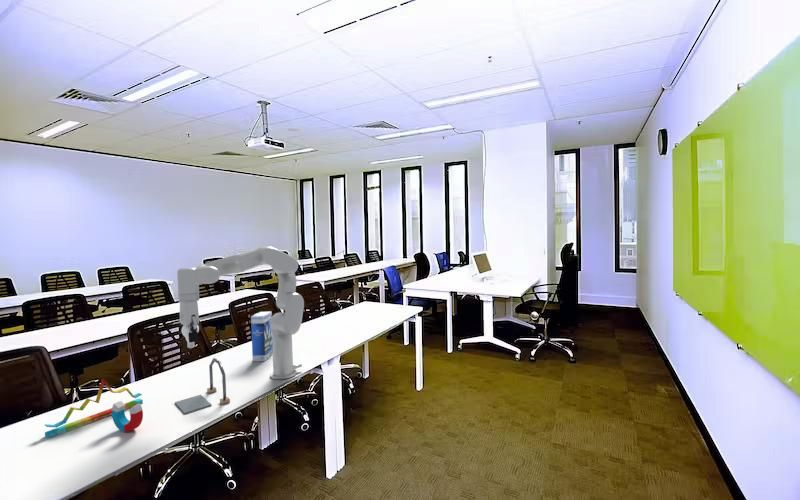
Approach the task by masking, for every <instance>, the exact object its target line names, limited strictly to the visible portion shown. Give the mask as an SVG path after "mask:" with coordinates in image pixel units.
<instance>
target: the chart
mask: <svg viewBox="0 0 800 500" xmlns="http://www.w3.org/2000/svg"><path fill="white" fill-rule="evenodd" d="M104 386H106V387H107V389H108V391H109V392H110V393H113V394H121V393H123V392H127V393H128V394H129V395H130V397H131V398H134V399H133V400H131V401H128V402H125V403H124V404H125V408H124V411H127V410H129V409H131V408H132V407H133V406H135V405H138V404H141V405H143V404H144V403H143V402H144V401H143V399H142V398H140V397H141V396H142V395H143V394H142V393H140V392H138V393H136V394H133V393H132V392H131V391H130V390H129V388H127V387H122V388H119V389H118V390H113V389H112V387H111V386H110V385H109V383H108V382H107V381H106V379H104V378H101V382H100V384H99V387H98V391H97V395H96V399H95V400H93V399H90V398H86V399H85V401H84V402H83V403H82V404H81V406H80V407H74V406H73V407H71V406H70V407H69V410H68V411H67V413H66V414H65V416H64V418H63V419H62V420H60V421H59V422H56V423H55V424H54V423H53V424H49V423H46V424H44V426H45V427H46V428H53V429H49V430H46V431H44V436H45V438H46V439H52V438H54V437H57V436H59V435H62V434H64V433H68V432H70V431H72V430H76V429H79V428H81V427H83V426H86V425H90V424H92V423H94V422H97V421H99V420H102V419H105V418H108V417H112V407H111V408H109V409H105V410H102V411H99V412H97V413H95V414H91V415H88V416H86V417H82V418H80V419H77V420H75V421H72V422H70V423H67V422H68V420H69V419H70V417H71V415H72V413H73V411H84V410H85V408H86V407H87V405H88V404H89V403H90V402H94V403H97V404H99V403H100V400H101V398H102V397H101V396H102V393H103V389H104Z"/></svg>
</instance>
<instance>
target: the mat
mask: <svg viewBox="0 0 800 500" xmlns="http://www.w3.org/2000/svg"><path fill="white" fill-rule="evenodd" d="M174 404H175V406H177V408H179V410H180V411H181V412H182V413H183V414H184V415H187V414H190V413H194V412H196V411H197V412H198V411H199V410H203V409H206V408H209V407H212V403H211V402H210V401H209V400H207V399H206V398H205V397H204V396H203V395H202V394H198V395H195V396H192V397H191V396H190V397H188V398H185V399H181V400H177V401H175V402H174Z"/></svg>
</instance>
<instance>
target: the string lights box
mask: <svg viewBox="0 0 800 500" xmlns="http://www.w3.org/2000/svg"><path fill="white" fill-rule="evenodd" d="M272 316H273V313H272V311H259V312H257V313H254V314H253V315H251V316H250V323H251V324H250V325H251V349H252V350H251V351H252V362H266V361H267V360H268V359H270V357H273V346H272V345H273V344H272V333H271V328H270V320H271V318H272Z"/></svg>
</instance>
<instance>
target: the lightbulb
mask: <svg viewBox="0 0 800 500" xmlns="http://www.w3.org/2000/svg"><path fill="white" fill-rule="evenodd" d="M192 324H193V323H192ZM192 324H190V325H192ZM192 327H193V326H192ZM192 327H191V328H192ZM197 330H198V332H199V331H200V326H199V325H198V326H197ZM189 333H190V332H189V326H184V325H182V327H181V334H182V336H183V338H184V337H185V338H186V339H185V340H186V343H187V345H186V346H187V347H186V348H189V349H193V348H195V342H196V341H195V342H189Z"/></svg>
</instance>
